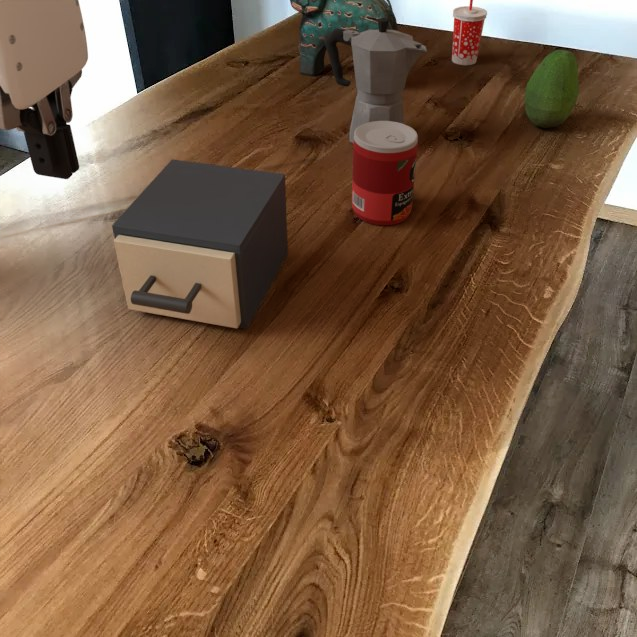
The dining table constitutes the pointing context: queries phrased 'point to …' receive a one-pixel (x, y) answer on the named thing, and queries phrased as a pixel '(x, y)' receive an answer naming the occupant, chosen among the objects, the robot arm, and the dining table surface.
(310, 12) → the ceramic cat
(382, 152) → the canned food
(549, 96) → the avocado
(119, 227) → the cabinet
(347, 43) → the coffeepot
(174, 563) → the dining table surface
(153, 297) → the drawer
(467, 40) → the beverage cup
